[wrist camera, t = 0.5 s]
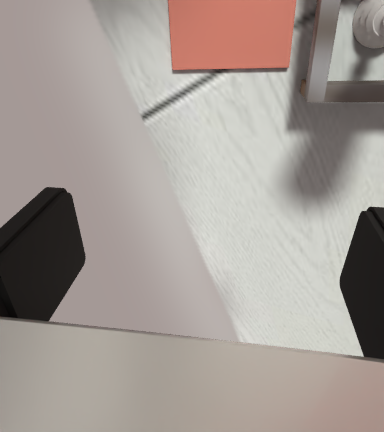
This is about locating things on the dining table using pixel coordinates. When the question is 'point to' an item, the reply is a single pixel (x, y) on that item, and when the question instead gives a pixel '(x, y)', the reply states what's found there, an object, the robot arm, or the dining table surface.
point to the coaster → (231, 33)
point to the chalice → (369, 23)
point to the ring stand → (320, 63)
